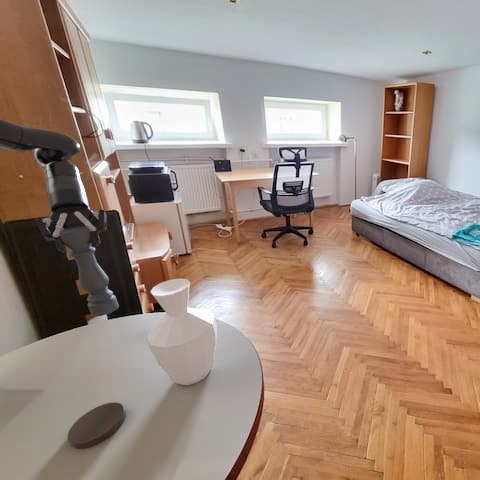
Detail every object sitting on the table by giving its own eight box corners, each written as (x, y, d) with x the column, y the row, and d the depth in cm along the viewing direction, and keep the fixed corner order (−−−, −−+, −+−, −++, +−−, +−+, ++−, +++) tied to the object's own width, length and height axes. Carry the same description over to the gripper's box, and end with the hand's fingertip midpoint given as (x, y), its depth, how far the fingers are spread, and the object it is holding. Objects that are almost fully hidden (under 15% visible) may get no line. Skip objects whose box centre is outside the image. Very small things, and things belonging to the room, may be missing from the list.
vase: (212, 392, 67) (187, 303, 58) (149, 397, 66) (114, 306, 57) (232, 349, 81) (215, 270, 71) (180, 352, 80) (156, 273, 71)
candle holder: (107, 316, 81) (74, 233, 72) (85, 316, 81) (50, 233, 72) (124, 303, 86) (96, 225, 77) (104, 303, 87) (73, 225, 77)
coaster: (57, 451, 55) (54, 446, 55) (92, 409, 64) (89, 404, 63) (107, 445, 56) (105, 440, 56) (135, 404, 65) (133, 400, 64)
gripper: (104, 199, 86) (117, 248, 82) (36, 207, 78) (46, 261, 74) (98, 184, 81) (111, 235, 76) (23, 191, 72) (34, 249, 68)
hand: (79, 248), depth 75 cm, fingers closed on candle holder, 5 cm apart
